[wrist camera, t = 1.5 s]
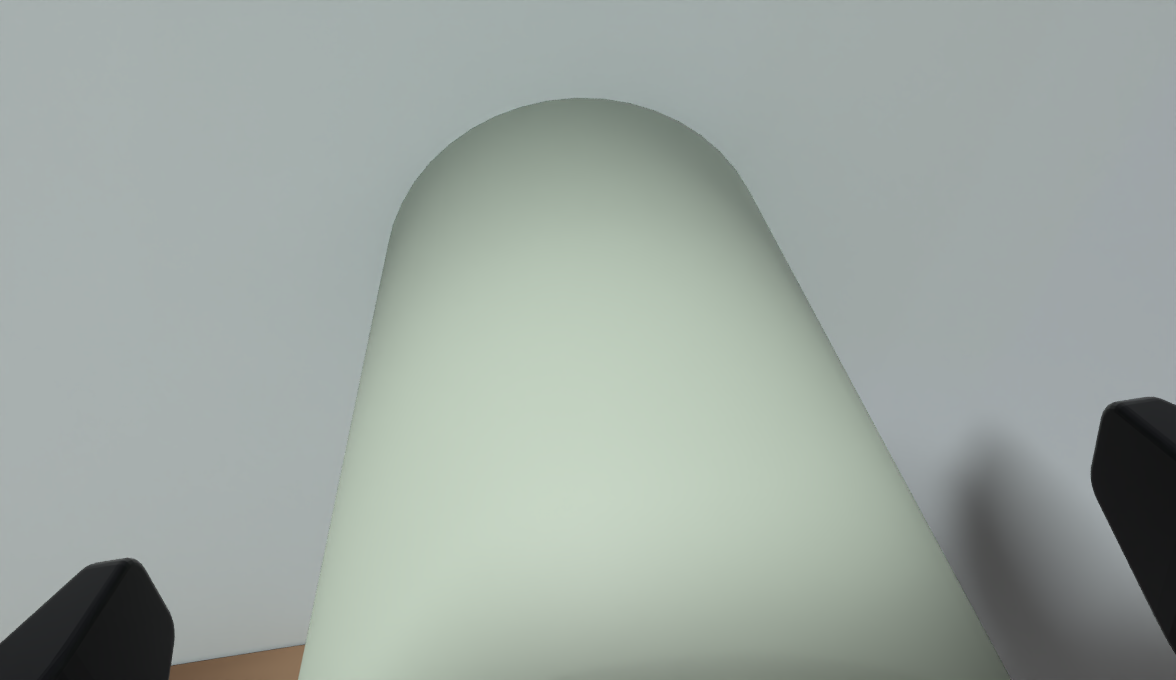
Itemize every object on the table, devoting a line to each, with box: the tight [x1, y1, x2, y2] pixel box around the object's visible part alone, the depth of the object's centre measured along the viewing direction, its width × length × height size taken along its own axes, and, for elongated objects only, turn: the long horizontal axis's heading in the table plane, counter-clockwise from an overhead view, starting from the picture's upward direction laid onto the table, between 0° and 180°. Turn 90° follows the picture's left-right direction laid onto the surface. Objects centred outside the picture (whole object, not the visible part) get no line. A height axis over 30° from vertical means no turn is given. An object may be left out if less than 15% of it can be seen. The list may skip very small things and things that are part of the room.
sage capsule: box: [298, 98, 1011, 680], centre depth 9 cm, size 5×5×8 cm
